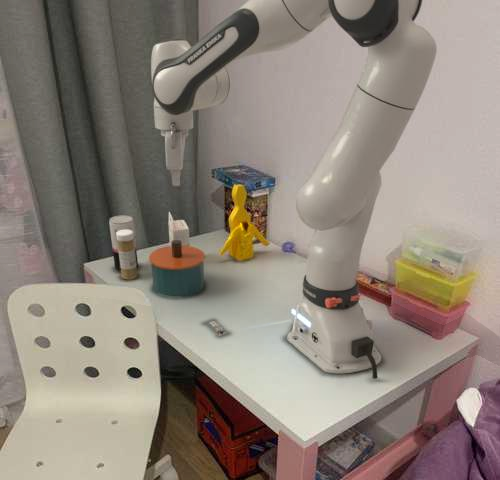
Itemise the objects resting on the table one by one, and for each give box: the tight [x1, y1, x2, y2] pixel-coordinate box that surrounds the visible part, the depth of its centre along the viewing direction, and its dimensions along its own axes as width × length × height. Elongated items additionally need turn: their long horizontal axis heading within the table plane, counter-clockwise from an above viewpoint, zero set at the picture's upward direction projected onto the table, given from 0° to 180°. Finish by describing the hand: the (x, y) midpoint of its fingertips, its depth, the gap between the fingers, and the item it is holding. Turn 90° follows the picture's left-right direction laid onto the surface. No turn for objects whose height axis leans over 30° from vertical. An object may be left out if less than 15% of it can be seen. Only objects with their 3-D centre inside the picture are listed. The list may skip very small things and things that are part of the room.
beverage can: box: [108, 214, 139, 273], centre depth 139 cm, size 6×7×15 cm
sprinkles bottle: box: [116, 229, 138, 281], centre depth 135 cm, size 5×5×14 cm
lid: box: [148, 240, 206, 270], centre depth 128 cm, size 15×15×5 cm
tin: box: [151, 260, 205, 298], centre depth 131 cm, size 14×14×8 cm
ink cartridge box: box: [168, 211, 190, 246], centre depth 144 cm, size 9×5×15 cm, turn 17°
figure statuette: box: [218, 183, 271, 261], centre depth 146 cm, size 18×8×22 cm, turn 121°
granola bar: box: [208, 320, 228, 337], centre depth 115 cm, size 7×2×1 cm, turn 34°
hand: (177, 179), depth 119 cm, fingers open, 8 cm apart
